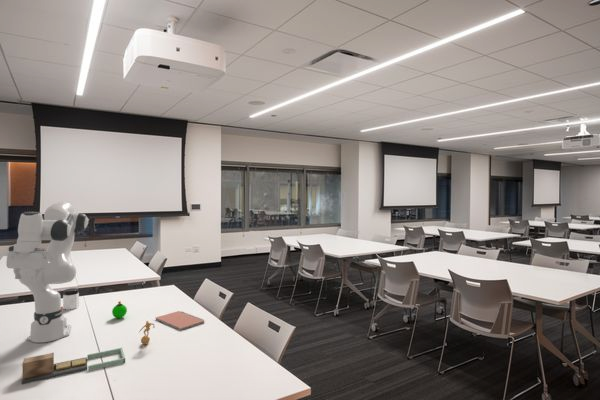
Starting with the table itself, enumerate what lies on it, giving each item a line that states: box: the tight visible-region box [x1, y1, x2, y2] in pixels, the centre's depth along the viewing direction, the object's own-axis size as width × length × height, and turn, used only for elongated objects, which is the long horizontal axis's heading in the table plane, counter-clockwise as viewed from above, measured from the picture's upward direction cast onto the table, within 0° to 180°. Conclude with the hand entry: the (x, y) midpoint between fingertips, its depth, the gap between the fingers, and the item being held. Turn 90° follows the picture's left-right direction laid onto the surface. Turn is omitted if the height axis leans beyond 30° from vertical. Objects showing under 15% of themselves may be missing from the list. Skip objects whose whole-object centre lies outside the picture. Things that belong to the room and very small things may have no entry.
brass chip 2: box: [72, 357, 86, 368], centre depth 155 cm, size 5×5×2 cm
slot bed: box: [21, 356, 88, 385], centre depth 150 cm, size 22×11×2 cm, turn 122°
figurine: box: [138, 320, 155, 345], centre depth 180 cm, size 8×6×12 cm
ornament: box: [111, 300, 128, 319], centre depth 218 cm, size 8×8×10 cm
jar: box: [62, 287, 80, 311], centre depth 237 cm, size 9×8×12 cm
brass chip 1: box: [56, 360, 71, 371], centre depth 152 cm, size 5×5×2 cm
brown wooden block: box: [21, 352, 55, 379], centre depth 147 cm, size 10×5×7 cm, turn 122°
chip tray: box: [86, 347, 126, 371], centre depth 160 cm, size 14×13×3 cm
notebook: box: [155, 310, 205, 331], centre depth 213 cm, size 27×17×2 cm, turn 50°
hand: (26, 279), depth 159 cm, fingers open, 8 cm apart
